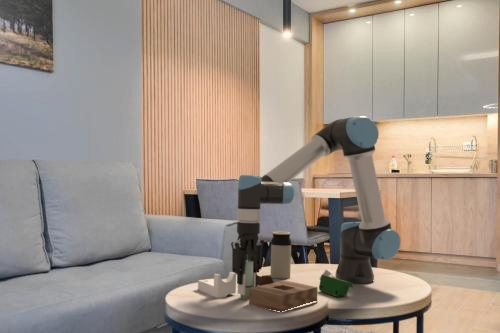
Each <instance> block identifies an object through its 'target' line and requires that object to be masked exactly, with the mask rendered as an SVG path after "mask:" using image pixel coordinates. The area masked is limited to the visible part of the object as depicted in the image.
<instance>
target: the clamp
mask: <svg viewBox="0 0 500 333" xmlns="http://www.w3.org/2000/svg"><path fill="white" fill-rule="evenodd" d="M353 287H354V283H351V282H347V281H343V280H340V279H338V278H335V277H333V276H331V275H326V274H321V277H320V281H319V286H318V290H319V291H320V292H322V293H324V294H327V295H331V296H333V297H337V298H343V297H344V296H348V292H349V288H353Z"/></svg>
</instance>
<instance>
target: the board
mask: <svg viewBox="0 0 500 333" xmlns="http://www.w3.org/2000/svg"><path fill="white" fill-rule="evenodd" d="M313 301H317V302H318V286H314V285H308V284H304V283H300V282H295V281H290V280H281V281H278V282H277V281H276V282H274V283H272V284H267V285H262V286H260V285H257V286H255V287H252V288H249V299H248V304H249V305H250V306H254V307H256V308H257V307H258V308H261V307H262V309H265V308H266V309H265V310H268V309H271V310H270V311H272V310H276V311H280V312H282V311H285V310H288V309H291V308H294V307H297V306H300V305H303V304H306V303H310V302H313Z"/></svg>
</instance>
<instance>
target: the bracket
mask: <svg viewBox="0 0 500 333" xmlns="http://www.w3.org/2000/svg"><path fill="white" fill-rule="evenodd" d="M236 284H237V273H235V272H233V271H229V274H228V276H227V278H226V279H224V280H223V279H222V276H221V274H219V273H213V278H207V279H198V280H197V290H199V291H200V292H203V293H205V294H208V295H210V296H212V297H214V298H217V299H219V298H226V297H227V296H228V295H231V294H232V295H233V294H237V292H236V288H237V285H236Z"/></svg>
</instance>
